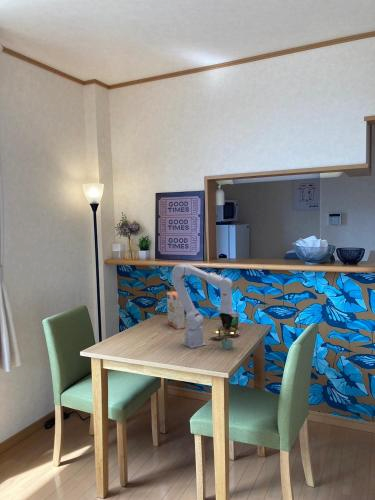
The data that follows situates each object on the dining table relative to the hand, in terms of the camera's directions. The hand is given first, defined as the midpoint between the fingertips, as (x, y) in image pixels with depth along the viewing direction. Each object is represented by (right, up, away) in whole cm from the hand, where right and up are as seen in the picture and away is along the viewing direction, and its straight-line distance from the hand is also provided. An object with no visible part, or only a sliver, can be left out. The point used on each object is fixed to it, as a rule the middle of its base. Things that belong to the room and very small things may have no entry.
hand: (226, 327), depth 212 cm
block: (0, -11, +1) cm, 11 cm away
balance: (+1, -9, +18) cm, 20 cm away
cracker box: (-27, -8, +44) cm, 52 cm away
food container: (+4, -8, +33) cm, 35 cm away
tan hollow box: (0, -5, +1) cm, 5 cm away
